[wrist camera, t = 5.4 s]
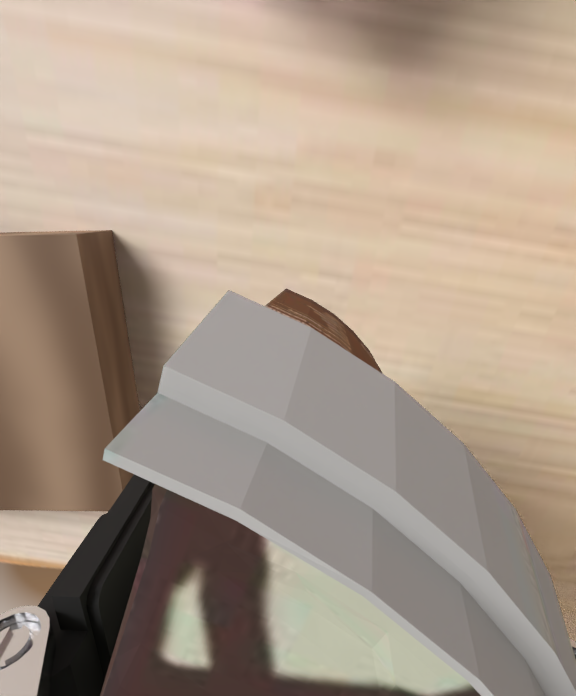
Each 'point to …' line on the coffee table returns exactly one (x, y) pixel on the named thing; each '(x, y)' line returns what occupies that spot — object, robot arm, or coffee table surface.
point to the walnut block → (62, 371)
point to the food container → (321, 531)
